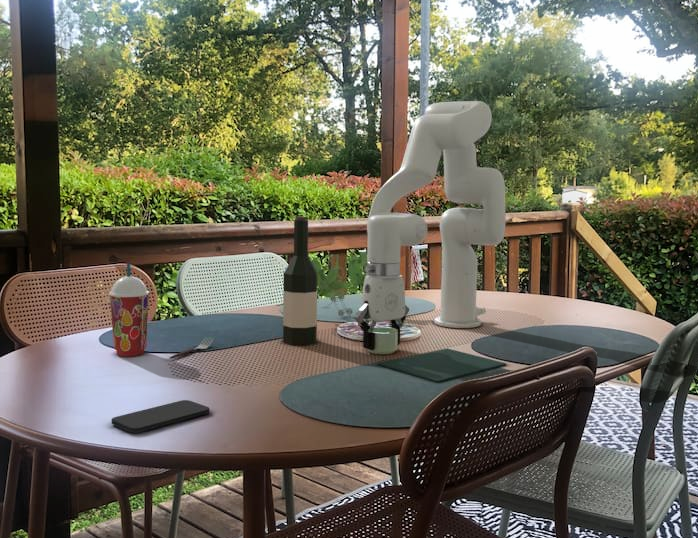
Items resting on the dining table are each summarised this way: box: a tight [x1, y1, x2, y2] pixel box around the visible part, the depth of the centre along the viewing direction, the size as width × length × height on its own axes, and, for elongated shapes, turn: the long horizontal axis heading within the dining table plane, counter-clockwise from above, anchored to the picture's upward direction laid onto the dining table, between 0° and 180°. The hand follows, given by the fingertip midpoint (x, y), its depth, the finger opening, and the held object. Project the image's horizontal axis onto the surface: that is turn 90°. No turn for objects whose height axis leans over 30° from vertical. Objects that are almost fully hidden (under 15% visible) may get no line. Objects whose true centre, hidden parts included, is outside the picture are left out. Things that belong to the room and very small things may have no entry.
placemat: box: [377, 348, 507, 383], centre depth 162 cm, size 22×17×1 cm
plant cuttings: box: [276, 251, 367, 319], centre depth 213 cm, size 35×17×22 cm
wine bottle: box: [282, 215, 318, 346], centre depth 179 cm, size 8×8×30 cm
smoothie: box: [108, 263, 150, 357], centre depth 165 cm, size 8×8×20 cm
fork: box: [169, 335, 215, 359], centre depth 168 cm, size 3×16×2 cm, turn 159°
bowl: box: [366, 326, 398, 355], centre depth 172 cm, size 7×7×5 cm
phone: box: [111, 399, 210, 433], centre depth 123 cm, size 7×1×15 cm
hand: (381, 345), depth 173 cm, fingers closed on bowl, 7 cm apart
